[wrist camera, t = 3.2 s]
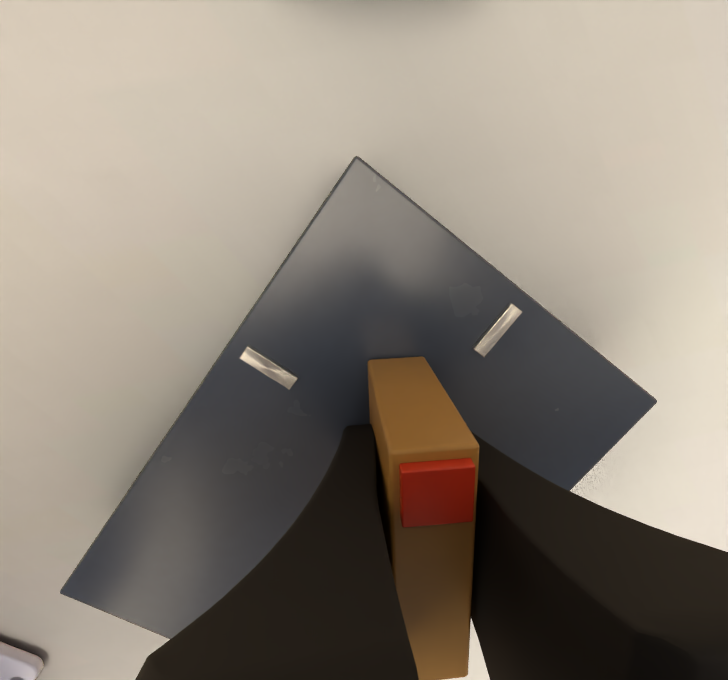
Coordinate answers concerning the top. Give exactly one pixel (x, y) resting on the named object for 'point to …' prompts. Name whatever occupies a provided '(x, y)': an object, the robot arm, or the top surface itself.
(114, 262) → the top surface
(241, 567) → the dark slotted flat block
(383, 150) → the top surface
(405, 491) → the tan upright tile
